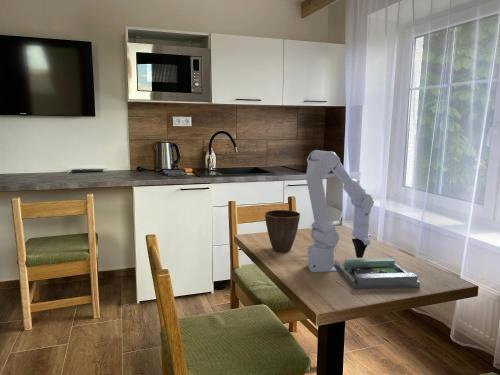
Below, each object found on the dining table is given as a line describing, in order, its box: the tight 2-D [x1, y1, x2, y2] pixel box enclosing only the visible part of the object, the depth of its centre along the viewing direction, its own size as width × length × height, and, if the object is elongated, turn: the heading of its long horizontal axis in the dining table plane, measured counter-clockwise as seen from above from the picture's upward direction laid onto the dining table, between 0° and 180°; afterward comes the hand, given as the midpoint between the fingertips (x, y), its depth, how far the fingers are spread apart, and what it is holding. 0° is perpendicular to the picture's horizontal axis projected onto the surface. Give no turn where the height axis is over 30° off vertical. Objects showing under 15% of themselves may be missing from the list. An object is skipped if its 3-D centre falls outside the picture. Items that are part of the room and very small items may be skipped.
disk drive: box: [352, 267, 399, 276], centre depth 139 cm, size 10×3×15 cm
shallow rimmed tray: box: [333, 259, 421, 290], centre depth 141 cm, size 22×23×4 cm
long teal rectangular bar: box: [344, 258, 396, 273], centre depth 145 cm, size 18×2×4 cm, turn 95°
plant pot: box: [264, 209, 301, 253], centre depth 169 cm, size 15×15×16 cm
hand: (359, 257), depth 156 cm, fingers closed
